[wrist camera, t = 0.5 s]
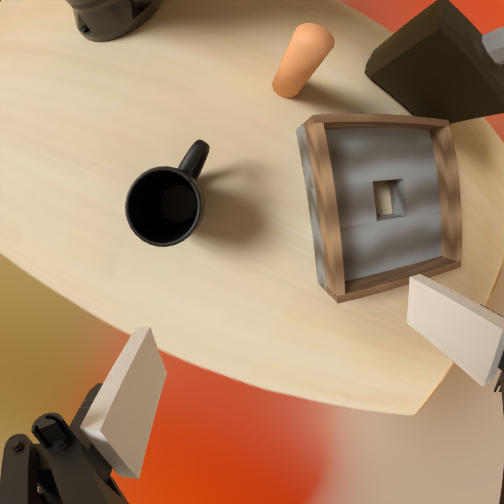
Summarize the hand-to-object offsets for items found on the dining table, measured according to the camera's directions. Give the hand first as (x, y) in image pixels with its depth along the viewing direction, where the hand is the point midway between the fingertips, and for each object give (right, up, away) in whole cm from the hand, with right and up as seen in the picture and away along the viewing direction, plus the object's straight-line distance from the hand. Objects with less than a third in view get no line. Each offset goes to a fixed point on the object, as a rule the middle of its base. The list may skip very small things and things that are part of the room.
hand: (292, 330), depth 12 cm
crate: (+17, +12, +25) cm, 32 cm away
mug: (-11, +12, +23) cm, 28 cm away
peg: (+3, +27, +21) cm, 34 cm away
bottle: (+24, +31, +22) cm, 45 cm away
